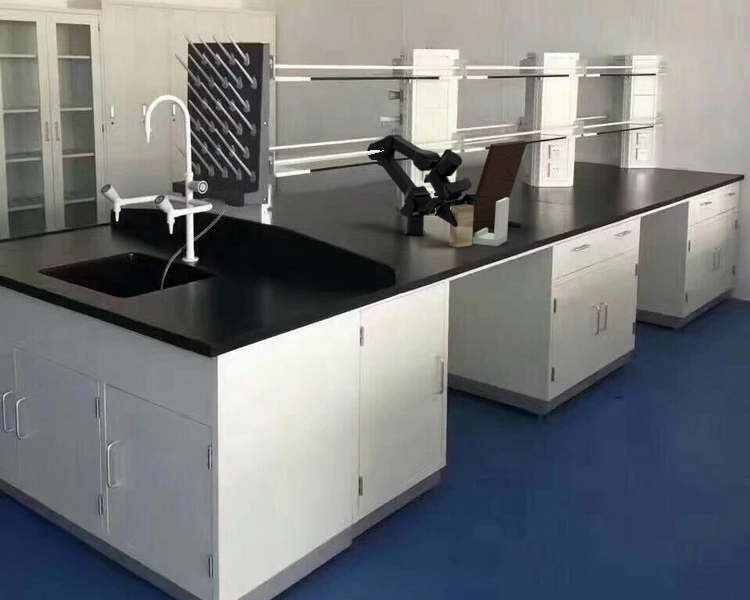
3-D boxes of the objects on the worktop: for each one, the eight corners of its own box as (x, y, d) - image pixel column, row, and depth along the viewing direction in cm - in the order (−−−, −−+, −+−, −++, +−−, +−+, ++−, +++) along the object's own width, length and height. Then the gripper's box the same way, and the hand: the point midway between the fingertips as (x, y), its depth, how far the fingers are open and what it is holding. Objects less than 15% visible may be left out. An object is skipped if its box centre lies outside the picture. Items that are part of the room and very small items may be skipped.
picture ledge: (472, 243, 288) (474, 199, 284) (482, 238, 297) (484, 195, 293) (497, 246, 284) (499, 202, 281) (506, 240, 293) (509, 197, 289)
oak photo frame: (448, 245, 284) (450, 206, 281) (463, 243, 288) (465, 204, 285) (456, 247, 281) (458, 207, 278) (471, 245, 285) (473, 205, 282)
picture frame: (497, 222, 324) (502, 138, 316) (523, 227, 318) (528, 140, 310) (464, 230, 308) (469, 142, 300) (491, 235, 302) (496, 144, 294)
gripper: (433, 171, 276) (456, 212, 270) (476, 167, 287) (499, 207, 282) (415, 193, 284) (437, 234, 278) (458, 189, 295) (480, 228, 290)
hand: (464, 225), depth 282 cm, fingers closed on oak photo frame, 6 cm apart
